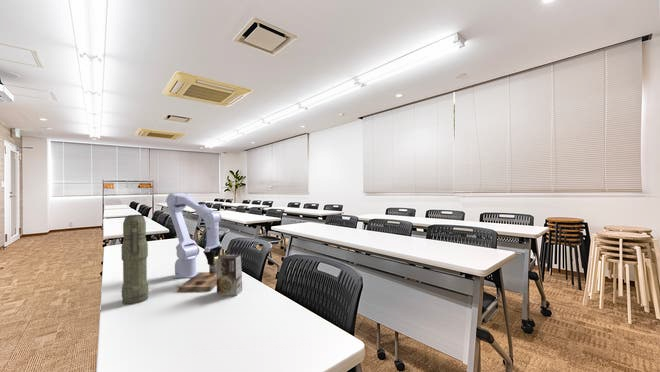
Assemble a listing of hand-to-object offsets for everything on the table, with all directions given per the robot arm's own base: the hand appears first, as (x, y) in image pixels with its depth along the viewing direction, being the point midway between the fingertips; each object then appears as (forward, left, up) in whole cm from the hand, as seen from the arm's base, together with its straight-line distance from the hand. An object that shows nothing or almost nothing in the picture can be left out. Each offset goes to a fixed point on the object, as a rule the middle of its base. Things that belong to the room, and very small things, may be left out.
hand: (213, 263), depth 137 cm
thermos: (-22, -24, -8) cm, 34 cm away
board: (-2, -6, -8) cm, 10 cm away
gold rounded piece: (0, 0, -5) cm, 5 cm away
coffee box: (+15, -19, -8) cm, 25 cm away
